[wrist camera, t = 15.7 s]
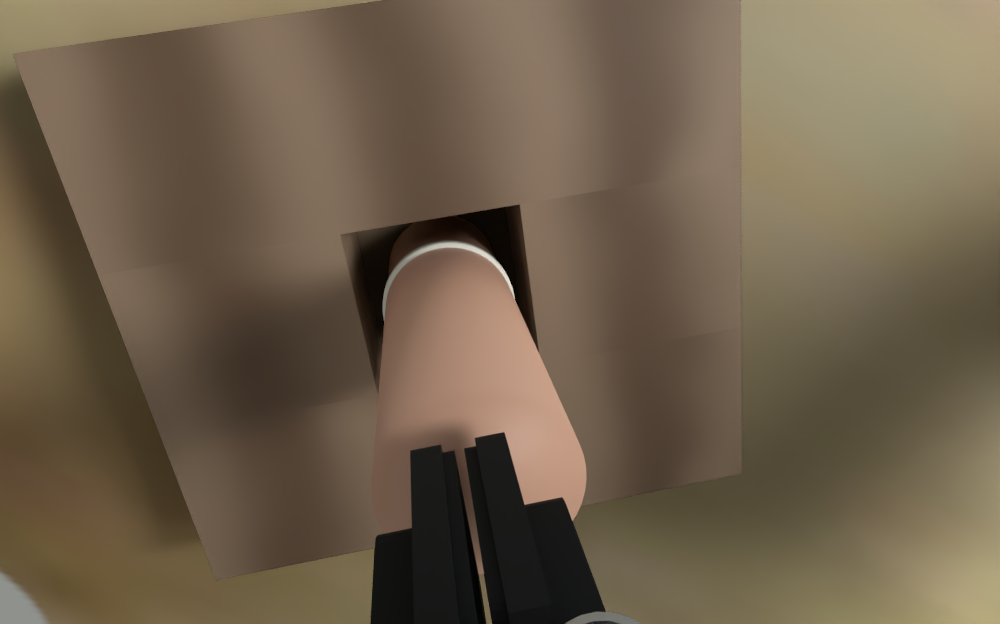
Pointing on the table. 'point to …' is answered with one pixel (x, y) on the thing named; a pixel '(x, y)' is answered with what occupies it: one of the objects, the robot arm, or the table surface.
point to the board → (399, 200)
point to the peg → (463, 375)
